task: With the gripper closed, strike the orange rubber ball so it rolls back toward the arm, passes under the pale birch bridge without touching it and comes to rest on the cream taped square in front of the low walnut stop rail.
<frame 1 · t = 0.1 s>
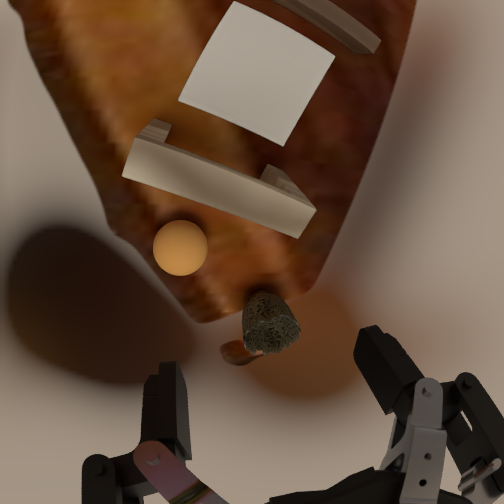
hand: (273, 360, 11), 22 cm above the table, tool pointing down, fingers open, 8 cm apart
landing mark: (259, 72, 24), on the table
ball: (180, 247, 30), on the table
bridge: (215, 156, 28), on the table
jagged textured lump: (259, 295, 41), on the table
stop rail: (300, 7, 20), on the table
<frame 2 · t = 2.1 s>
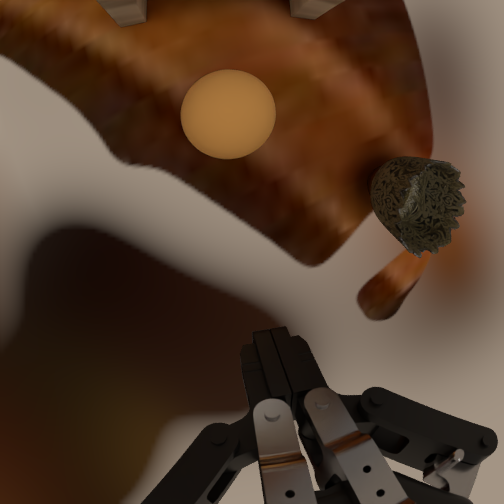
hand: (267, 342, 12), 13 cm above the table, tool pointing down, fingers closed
ball: (228, 113, 16), on the table
jagged textured lump: (378, 182, 24), on the table
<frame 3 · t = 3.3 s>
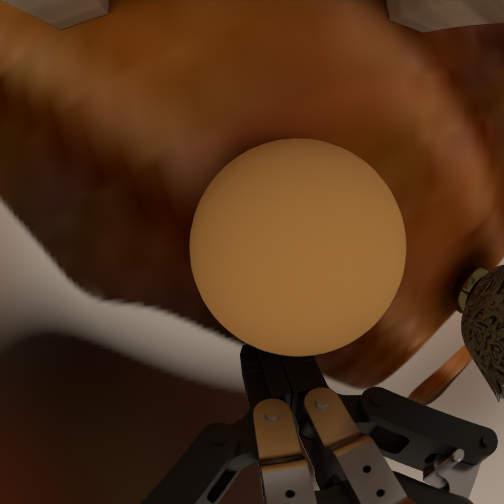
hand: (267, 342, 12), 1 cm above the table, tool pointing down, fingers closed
ball: (298, 247, 8), on the table
jagged textured lump: (464, 282, 15), on the table
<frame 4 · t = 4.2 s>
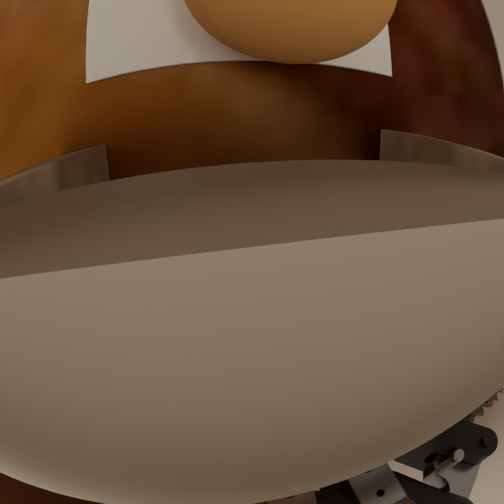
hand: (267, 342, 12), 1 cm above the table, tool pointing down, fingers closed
bridge: (255, 164, 10), on the table
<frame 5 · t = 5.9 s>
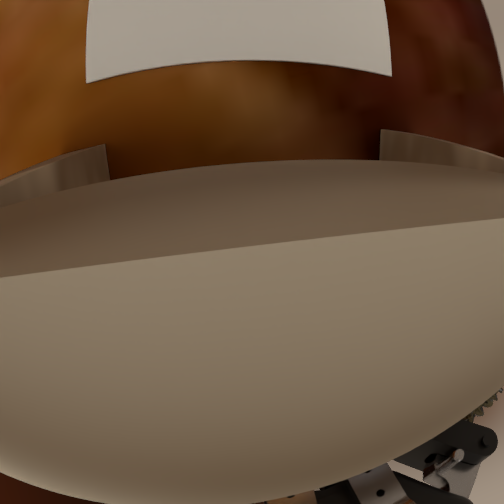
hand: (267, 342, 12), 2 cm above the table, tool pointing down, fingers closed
bridge: (255, 164, 10), on the table
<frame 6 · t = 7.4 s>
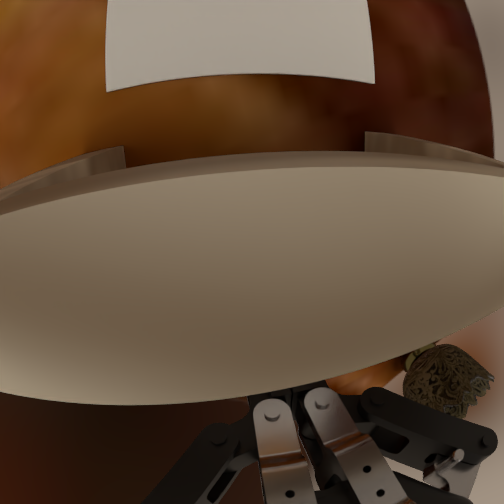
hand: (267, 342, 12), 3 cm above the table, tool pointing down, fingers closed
bridge: (253, 163, 12), on the table
jagged textured lump: (413, 348, 21), on the table
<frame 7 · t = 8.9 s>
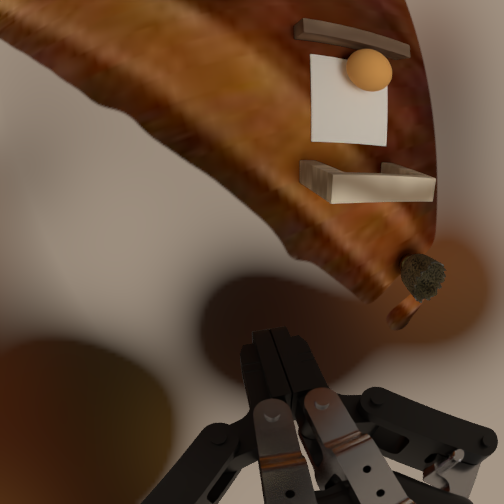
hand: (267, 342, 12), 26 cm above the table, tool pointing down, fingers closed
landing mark: (351, 101, 32), on the table
ball: (369, 69, 27), on the table
bridge: (349, 171, 36), on the table
jagged textured lump: (404, 260, 46), on the table
stop rail: (349, 41, 28), on the table
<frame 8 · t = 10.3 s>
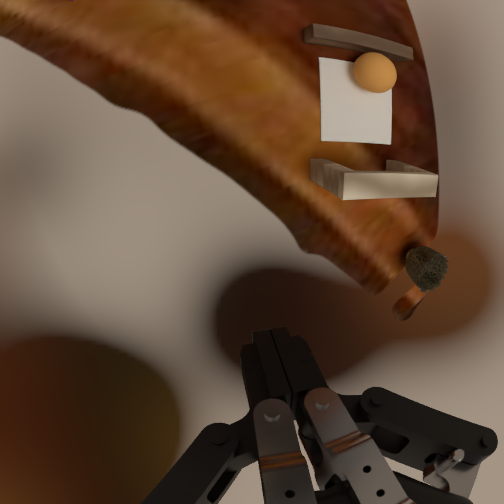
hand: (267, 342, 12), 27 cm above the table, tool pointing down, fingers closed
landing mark: (358, 102, 33), on the table
ball: (375, 72, 29), on the table
bridge: (357, 168, 38), on the table
jagged textured lump: (408, 253, 48), on the table
stop rail: (355, 45, 29), on the table
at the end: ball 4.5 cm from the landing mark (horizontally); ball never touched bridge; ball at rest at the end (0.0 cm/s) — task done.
